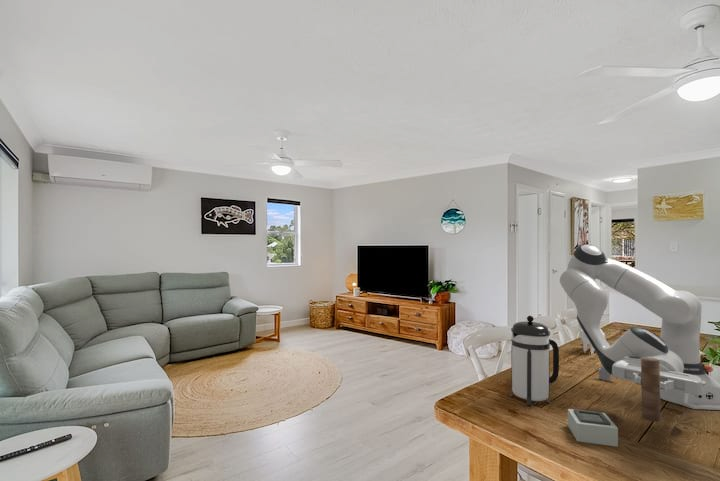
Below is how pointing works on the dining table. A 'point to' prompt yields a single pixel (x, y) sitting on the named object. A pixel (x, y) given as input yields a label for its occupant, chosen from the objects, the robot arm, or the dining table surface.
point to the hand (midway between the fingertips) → (649, 383)
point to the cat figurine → (586, 341)
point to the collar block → (592, 427)
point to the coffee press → (532, 361)
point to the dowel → (650, 389)
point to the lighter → (604, 374)
